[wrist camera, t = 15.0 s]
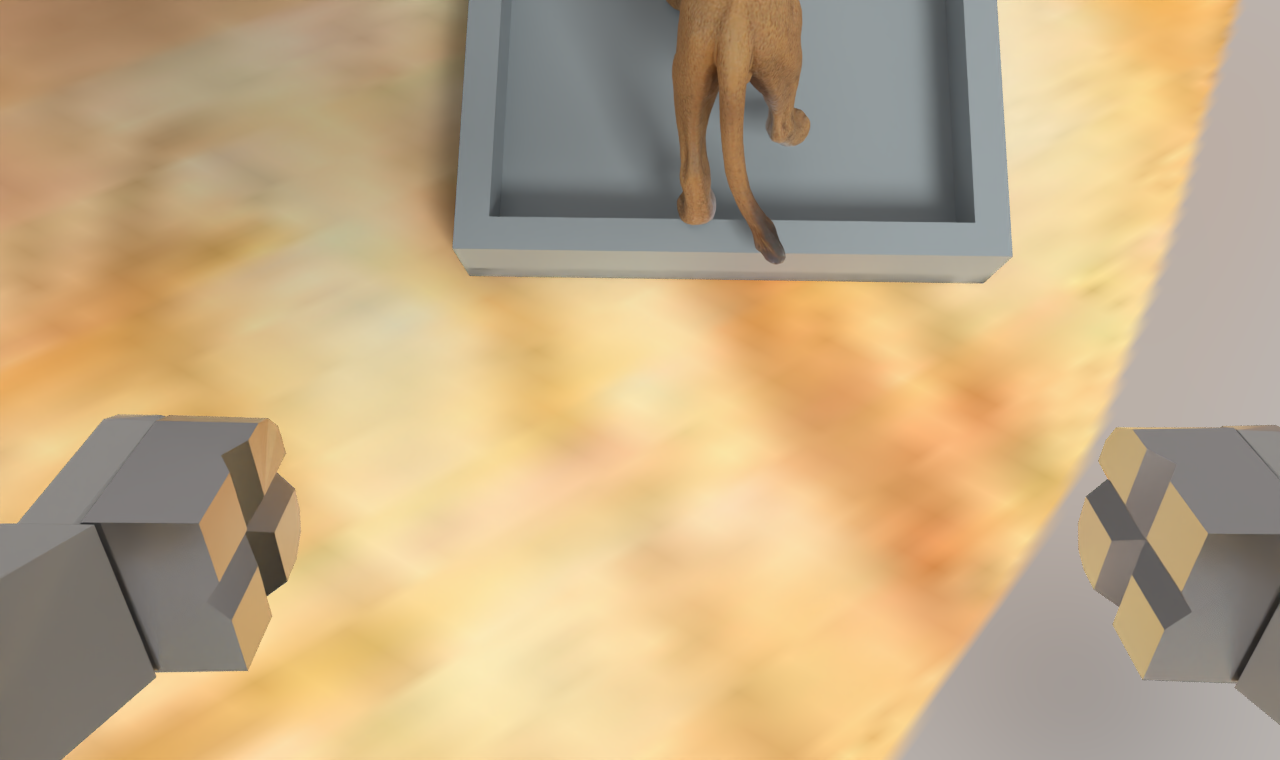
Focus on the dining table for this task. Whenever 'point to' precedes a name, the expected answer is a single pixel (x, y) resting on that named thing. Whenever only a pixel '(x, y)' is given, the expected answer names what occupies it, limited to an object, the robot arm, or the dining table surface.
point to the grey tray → (778, 176)
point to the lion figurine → (734, 98)
